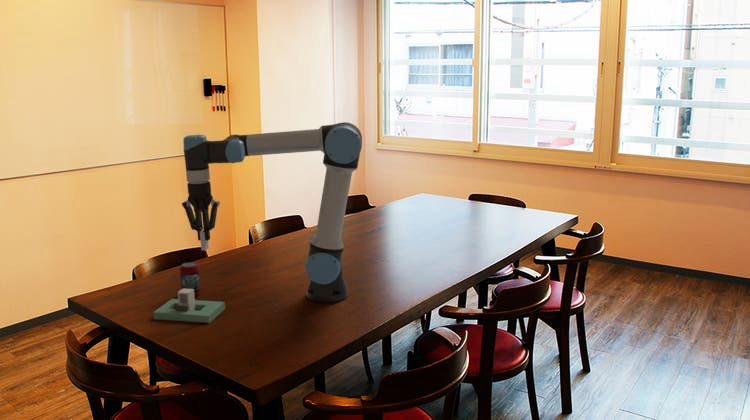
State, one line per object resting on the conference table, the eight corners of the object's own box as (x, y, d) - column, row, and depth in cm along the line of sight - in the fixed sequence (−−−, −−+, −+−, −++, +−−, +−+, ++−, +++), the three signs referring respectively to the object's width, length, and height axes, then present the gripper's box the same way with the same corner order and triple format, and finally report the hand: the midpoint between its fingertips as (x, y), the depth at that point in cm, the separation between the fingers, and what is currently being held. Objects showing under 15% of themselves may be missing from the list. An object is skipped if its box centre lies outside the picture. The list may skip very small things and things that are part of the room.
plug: (195, 311, 237) (193, 289, 235) (189, 315, 233) (187, 293, 231) (184, 310, 238) (183, 288, 236) (178, 315, 234) (177, 292, 232)
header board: (225, 308, 240) (224, 297, 239) (209, 322, 227) (208, 311, 227) (172, 305, 244) (171, 294, 243) (154, 319, 231) (153, 307, 230)
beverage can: (182, 299, 250) (179, 267, 247) (182, 293, 256) (179, 262, 253) (201, 297, 252) (198, 266, 249) (200, 291, 258) (198, 260, 255)
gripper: (221, 179, 231) (227, 246, 236) (185, 179, 233) (192, 246, 239) (212, 183, 224) (218, 252, 229) (175, 183, 226) (182, 252, 232)
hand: (205, 249), depth 234 cm, fingers closed
